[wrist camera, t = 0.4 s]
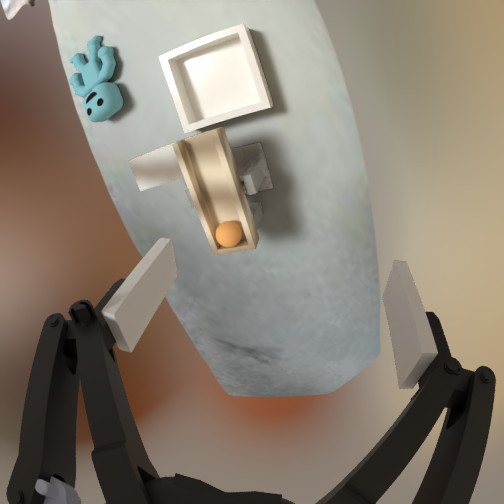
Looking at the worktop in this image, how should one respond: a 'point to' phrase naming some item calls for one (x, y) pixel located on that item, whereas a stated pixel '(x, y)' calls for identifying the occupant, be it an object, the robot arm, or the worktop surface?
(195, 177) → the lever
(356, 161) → the worktop surface
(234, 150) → the fulcrum
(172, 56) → the dish
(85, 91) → the toy
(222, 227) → the ball
